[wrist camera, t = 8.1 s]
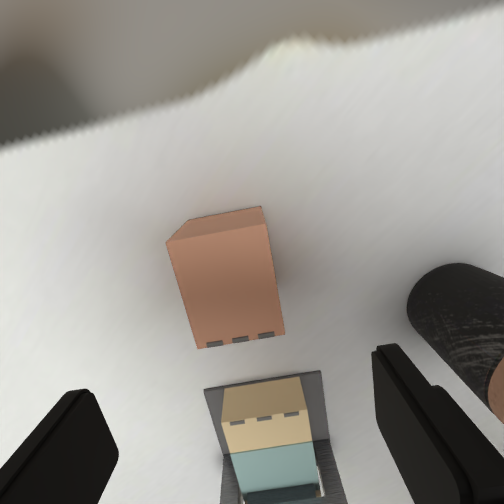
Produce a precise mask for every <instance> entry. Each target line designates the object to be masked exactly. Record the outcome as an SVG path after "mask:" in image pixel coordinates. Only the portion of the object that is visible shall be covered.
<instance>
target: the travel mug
mask: <svg viewBox="0 0 504 504" xmlns="http://www.w3.org/2000/svg"><path fill="white" fill-rule="evenodd" d="M407 313H408V317H409V320H410V322H411V324H412V326H413V327H414V328H415V329H416V331H417V332H418V333H419V334H420V335H421V336H422V337H423V338H424V340H425V341H426V342H427V343H428V344H429V345H430V346H431V347H432V348H433V349H434V350H435V351H436V352H437V354H438V355H439V356H440V357H441V358H442V359H443V360H444V361H445V362H446V363H447V364H448V365H449V366H450V368H451V369H452V370H453V371H454V372H455V373H456V374H457V375H458V376H459V377H460V378H461V379H462V380H463V382H464V383H465V384H466V385H467V386H468V387H469V388H470V389H471V390H472V391H473V392H474V393H475V394H476V396H477V397H478V398H479V399H480V400H481V401H482V402H483V403H484V404H485V405H486V406H487V407H488V408H489V410H490V411H491V412H492V413H493V414H495V415H496V417H497V418H498V419H499V420H500V421H501V422H502V423H503V424H504V278H503V277H501V276H498V275H496V274H493V273H491V272H488V271H486V270H483V269H481V268H478V267H475V266H472V265H468V264H460V263H457V264H449V265H445V266H441V267H439V268H436V269H435V270H433V271H431V272H429V273H428V274H426V275H425V276H424V277H423V278H422V279H421V280H420V281H419V282H418V283H417V284H416V285H415V287H414V288H413V290H412V292H411V294H410V296H409V299H408V304H407Z"/></svg>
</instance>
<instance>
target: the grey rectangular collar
mask: <svg viewBox="0 0 504 504" xmlns="http://www.w3.org/2000/svg"><path fill="white" fill-rule="evenodd" d="M313 445H314V451H315V457H316V462H317V466H318V470H319V475H320V479H321V483H322V488H323V492H324V496H323V497H316V493H315V488H314V483H311V484H304V485H297V486H291V487H284V488H277V489H270V490H263V491H256V492H249V493H247V504H348V503H347V499H346V496H345V493H344V489H343V486H342V482H341V479H340V476H339V472H338V469H337V465H336V462H335V459H334V455H333V452H332V448H331V445H330V442H329V438H328V439H322V440H315V441H313ZM220 504H243V496H242V493H241V489H240V486H239V483H238V479H237V476H236V473H235V469H234V466H233V463H232V459H231V456H230V453H229V454H224V459H223V471H222V484H221V496H220Z"/></svg>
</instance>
